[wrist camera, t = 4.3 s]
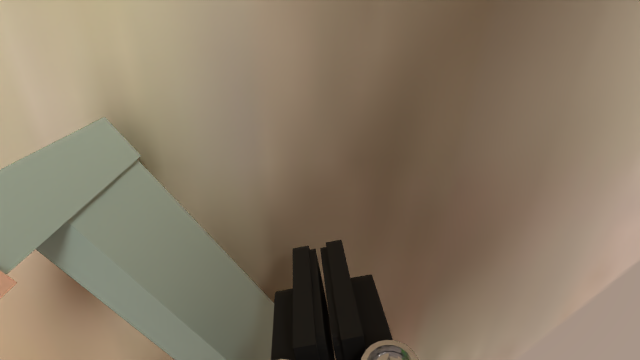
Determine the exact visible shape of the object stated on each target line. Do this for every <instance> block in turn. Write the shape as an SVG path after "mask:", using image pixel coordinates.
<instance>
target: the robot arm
mask: <svg viewBox="0 0 640 360" xmlns="http://www.w3.org/2000/svg"><path fill="white" fill-rule="evenodd" d="M320 250H321V257H322V265H323V273H324V281H325V288H326V296H327V302H326V297H325V293H324V288H323V283H322V278H321V273H320V268H319V263H318V258H317V254H316V249H312V250H310V249H309V246H304V247H299V248H293V289H288V290H283V291H277V292H276V293H275V301H274V317H273V333H272V349H271V360H335V358H334V351H335V356H336V360H419V359H418V357H417V355H416V354H415V353H414V352H413V350H412V349H411V348H410V347H408V346H407V345H405V344H404V343H401V342H398V341H394V340H393V339H392V336H391V333H390V330H389V327H388V323H387V320H386V317H385V314H384V311H383V308H382V305H381V302H380V299H379V296H378V293H377V289H376V286H375V283H374V280H373V277H372V275H365V276H360V277H354V278H350V275H349V271H348V266H347V262H346V258H345V254H344V249H343V245H342V241H341V240H337V241H332V242H326V247H323V248H320ZM327 304H328V307H327ZM328 311H329V313H328ZM331 334H332V335H331ZM332 341H333V342H332ZM333 346H334V350H333Z"/></svg>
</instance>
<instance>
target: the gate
mask: <svg viewBox="0 0 640 360" xmlns="http://www.w3.org/2000/svg"><path fill="white" fill-rule="evenodd" d="M140 156H141V155H140V154H139V153H138V152H137V151H136V150H135V149H134V148H133V147H132V145H131V144H130V143H129V142H128V141H127V140H126V139H125V138H124V137H123V136H122V135H121V134H120V133H119V132H118V131H117V130H116V128H115V127H114V126H113V125H112V124H111V123H110V122H109V121H108V120H107V119H106V118H105V117H103V118H101V119H99V120H97V121H95V122H93V123H91V124H89V125H87V126H85V127H83V128H81V129H79V130H77V131H76V132H74V133H72V134H70V135H68V136H66V137H64V138H62V139H60V140H58V141H56V142H54V143H52V144H50V145H48V146H46V147H44V148H42V149H40V150H38V151H36V152H34V153H32V154H30V155H28V156H26V157H24V158H22V159H20V160H18V161H16V162H15V163H13V164H11V165H9V166H7V167H5V168H3V169H1V170H0V298H2V297H3V296H4V295H5V294H6V293H7V292H8V291H9V290H10V289H11V288H12V287H13V286H14V285H15V284H16V283H17V282H15V281H14V280H13V279H11V278H10V277H9V276H7V275H6V274H8V273H9V272H10V271H11V270H12V269H13V268H14V267H15V266H17V265H18V264H19V263H20V262H21V261H22V260H23V259H25V258H26V257H27V256H28V255H29V254H30V253H31V252H32V251H34V250H35V249H36V250H37V251H39V252H40V253H41V254H42V255H44V256H45V257H46V258H47V259H49V260H50V261H51V262H52V263H54V264H55V265H56V266H58V267H59V268H60V269H61V270H63V271H64V272H65V273H66V274H68V275H69V276H70V277H71V278H73V279H74V280H75V281H76V282H78V283H79V284H80V285H81V286H83V287H84V288H85V289H86V290H88V291H89V292H90V293H92V294H93V295H94V296H95V297H97V298H98V299H99V300H100V301H102V302H103V303H104V304H105V305H107V306H108V307H109V308H110V309H112V310H113V311H114V312H115V313H117V314H118V315H119V316H120V317H122V318H123V319H124V320H126V321H127V322H128V323H129V324H131V325H132V326H133V327H134V328H136V329H137V330H138V331H139V332H141V333H142V334H143V335H144V336H146V337H147V338H148V339H149V340H151V341H152V342H153V343H154V344H156V345H157V346H158V347H160V348H161V349H162V350H163V351H165V352H166V353H167V354H168V355H170V356H171V357H172V358H173V359H175V360H271V349H272V333H273V317H274V303H273V302H272V301H271V300H270V299H269V297H268V296H267V295H266V294H265V293H264V292H263V291H262V290H261V289H260V288H259V287H258V286H257V285H256V284H255V283H254V282H253V281H252V280H251V279H250V277H249V276H248V275H247V274H246V273H245V272H244V271H243V270H242V269H241V268H240V267H239V266H238V265H237V264H236V263H235V262H234V261H233V260H232V259H231V257H230V256H229V255H228V254H227V253H226V252H225V251H224V250H223V249H222V248H221V247H220V246H219V245H218V244H217V243H216V242H215V241H214V240H213V239H212V238H211V236H210V235H209V234H208V233H207V232H206V231H205V230H204V229H203V228H202V227H201V226H200V225H199V224H198V223H197V222H196V221H195V220H194V219H193V218H192V216H191V215H190V214H189V213H188V212H187V211H186V210H185V209H184V208H183V207H182V206H181V205H180V204H179V203H178V202H177V201H176V200H175V199H174V198H173V196H172V195H171V194H170V193H169V192H168V191H167V190H166V189H165V188H164V187H163V186H162V185H161V184H160V183H159V182H158V181H157V180H156V179H155V178H154V176H153V175H152V174H151V173H150V172H149V171H148V170H147V169H146V168H145V167H144V166H143V165H142V164H141V163H140V162H139V161H138V160H137V159H138V158H139V157H140Z"/></svg>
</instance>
